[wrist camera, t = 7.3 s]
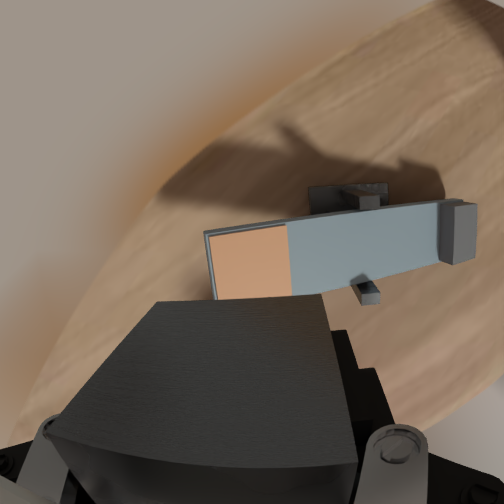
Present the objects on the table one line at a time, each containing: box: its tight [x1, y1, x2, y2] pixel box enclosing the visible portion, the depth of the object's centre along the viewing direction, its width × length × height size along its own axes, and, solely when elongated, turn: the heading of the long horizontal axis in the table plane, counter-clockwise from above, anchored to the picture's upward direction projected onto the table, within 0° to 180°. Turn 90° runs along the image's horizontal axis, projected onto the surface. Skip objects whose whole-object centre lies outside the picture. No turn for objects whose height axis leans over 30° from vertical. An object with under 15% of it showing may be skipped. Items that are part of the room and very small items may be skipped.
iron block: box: [45, 294, 358, 504], centre depth 7 cm, size 5×5×6 cm
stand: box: [308, 183, 389, 306], centre depth 28 cm, size 8×10×8 cm
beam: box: [203, 198, 477, 300], centre depth 25 cm, size 26×6×4 cm, turn 96°
